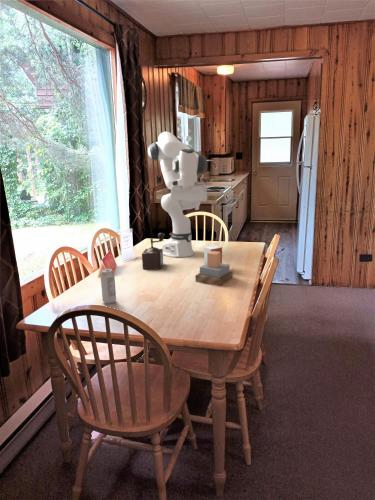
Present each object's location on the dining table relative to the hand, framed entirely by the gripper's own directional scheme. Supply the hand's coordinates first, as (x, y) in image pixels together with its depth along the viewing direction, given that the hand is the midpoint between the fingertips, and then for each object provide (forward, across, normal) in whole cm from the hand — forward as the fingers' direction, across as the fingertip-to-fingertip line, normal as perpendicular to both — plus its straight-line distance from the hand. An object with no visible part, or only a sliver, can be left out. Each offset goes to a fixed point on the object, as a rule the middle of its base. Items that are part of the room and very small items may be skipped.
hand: (189, 209), depth 209 cm
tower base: (+36, -16, +3) cm, 39 cm away
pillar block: (+28, -16, +3) cm, 32 cm away
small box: (+35, -8, -11) cm, 38 cm away
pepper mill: (+35, +26, -3) cm, 44 cm away
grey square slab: (+32, -16, +3) cm, 36 cm away
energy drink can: (+35, +12, +51) cm, 63 cm away
